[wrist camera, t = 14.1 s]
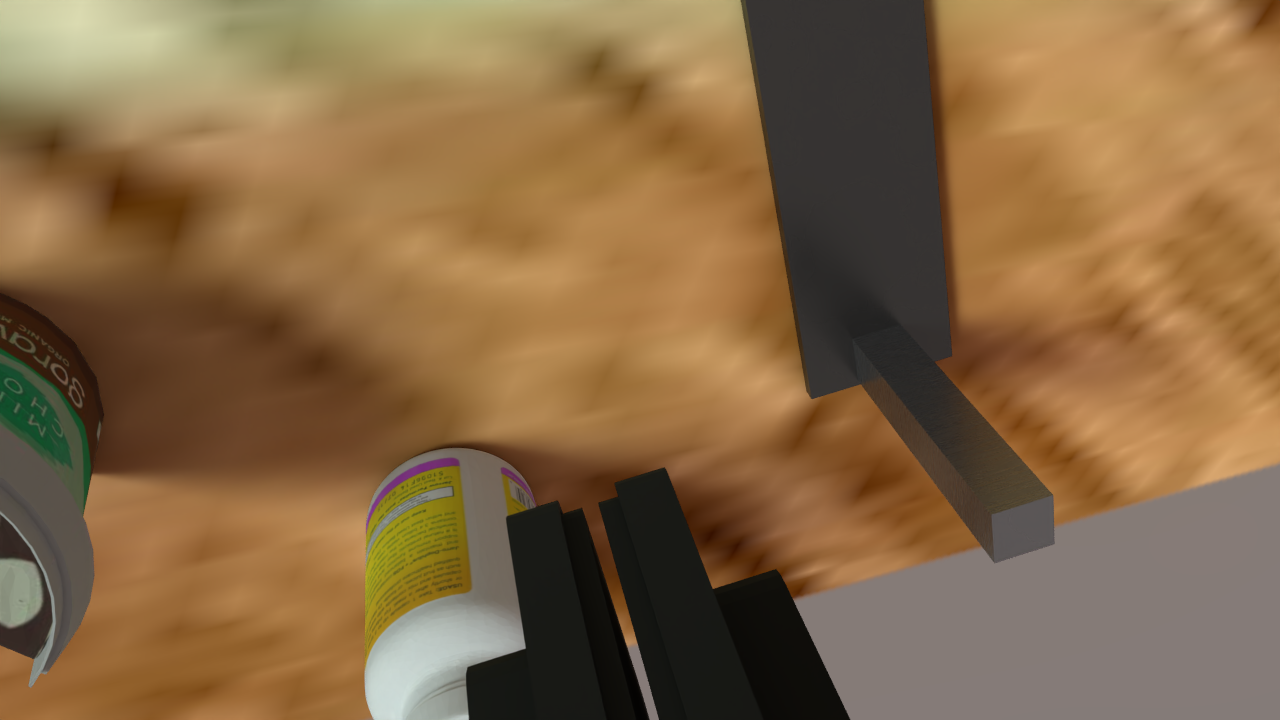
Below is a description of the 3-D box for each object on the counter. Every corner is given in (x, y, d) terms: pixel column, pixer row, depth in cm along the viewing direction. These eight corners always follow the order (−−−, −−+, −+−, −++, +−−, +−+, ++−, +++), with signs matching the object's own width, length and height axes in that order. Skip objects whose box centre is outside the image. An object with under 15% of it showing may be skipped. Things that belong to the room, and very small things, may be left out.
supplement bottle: (343, 554, 43) (328, 828, 32) (401, 420, 41) (406, 667, 30) (499, 590, 46) (534, 855, 35) (562, 466, 43) (622, 709, 32)
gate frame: (665, -447, 29) (814, -551, 19) (874, -500, 30) (1129, -630, 20) (806, 391, 44) (934, 587, 34) (945, 348, 44) (1113, 529, 34)
